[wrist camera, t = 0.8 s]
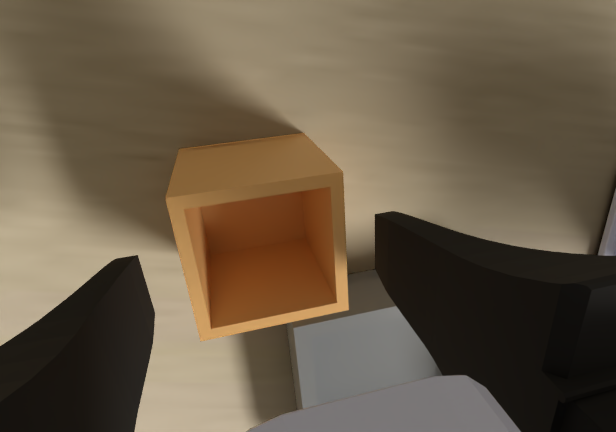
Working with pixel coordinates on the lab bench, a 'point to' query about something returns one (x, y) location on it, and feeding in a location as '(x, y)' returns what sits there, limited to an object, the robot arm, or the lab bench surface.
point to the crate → (356, 347)
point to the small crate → (259, 233)
